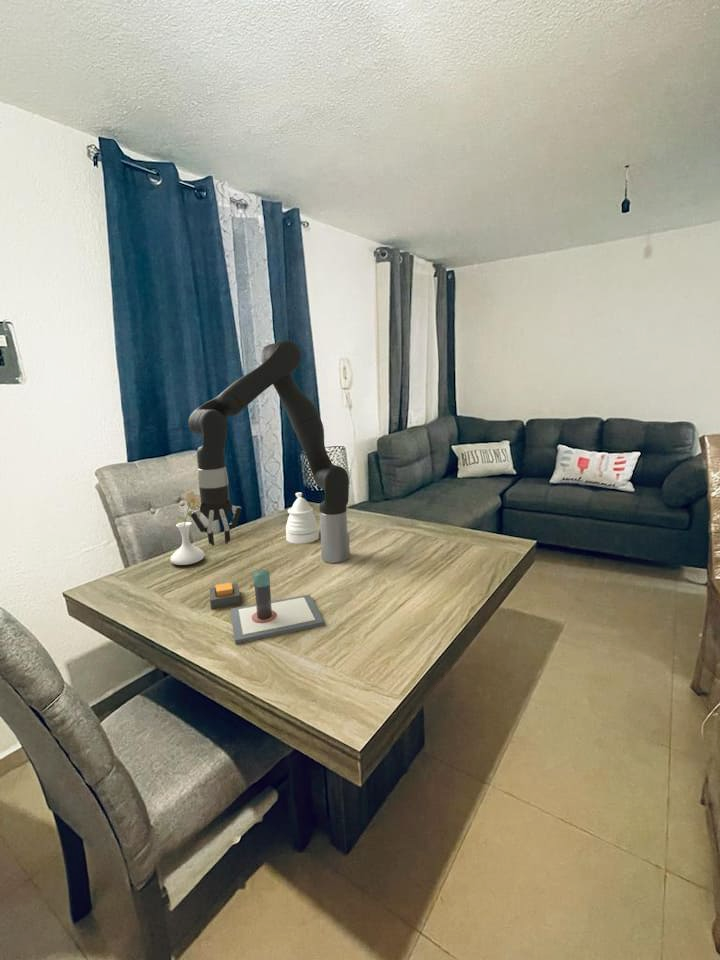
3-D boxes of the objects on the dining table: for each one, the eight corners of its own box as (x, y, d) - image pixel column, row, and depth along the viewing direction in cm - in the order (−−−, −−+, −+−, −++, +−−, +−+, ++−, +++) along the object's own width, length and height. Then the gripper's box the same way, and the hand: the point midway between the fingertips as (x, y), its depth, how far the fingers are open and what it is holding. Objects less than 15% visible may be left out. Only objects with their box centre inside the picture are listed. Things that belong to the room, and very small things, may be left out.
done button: (232, 588, 130) (231, 582, 129) (233, 595, 125) (232, 588, 125) (216, 591, 128) (215, 585, 128) (216, 598, 124) (216, 591, 124)
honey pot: (282, 535, 179) (279, 492, 175) (312, 530, 185) (310, 488, 181) (291, 545, 168) (288, 500, 164) (323, 540, 173) (321, 495, 169)
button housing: (238, 591, 132) (237, 583, 132) (240, 603, 125) (240, 595, 124) (210, 596, 130) (209, 588, 129) (211, 608, 122) (210, 600, 122)
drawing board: (309, 597, 127) (309, 592, 127) (324, 625, 113) (324, 620, 112) (230, 612, 120) (230, 607, 120) (235, 644, 105) (234, 638, 105)
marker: (271, 610, 118) (268, 568, 115) (273, 618, 114) (270, 574, 111) (255, 613, 116) (252, 571, 114) (257, 621, 113) (254, 577, 110)
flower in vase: (184, 570, 148) (176, 498, 142) (163, 564, 154) (154, 494, 148) (215, 557, 159) (208, 489, 153) (195, 551, 165) (187, 486, 159)
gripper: (239, 478, 125) (244, 536, 129) (186, 483, 121) (193, 543, 125) (241, 484, 118) (246, 544, 122) (185, 489, 114) (192, 552, 118)
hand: (219, 543), depth 123 cm, fingers open, 3 cm apart
